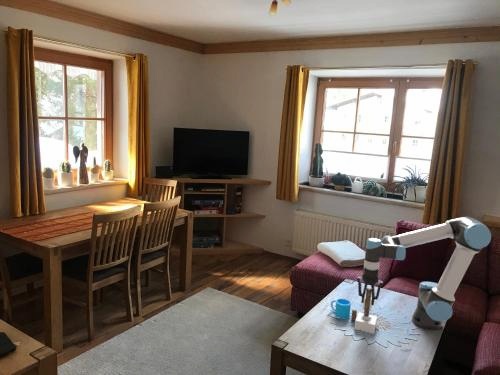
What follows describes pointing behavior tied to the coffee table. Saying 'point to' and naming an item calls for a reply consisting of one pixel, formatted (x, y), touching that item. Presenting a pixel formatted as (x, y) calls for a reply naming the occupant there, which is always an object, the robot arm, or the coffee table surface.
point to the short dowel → (354, 315)
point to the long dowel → (367, 302)
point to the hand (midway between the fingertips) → (367, 309)
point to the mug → (342, 308)
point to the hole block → (366, 323)
